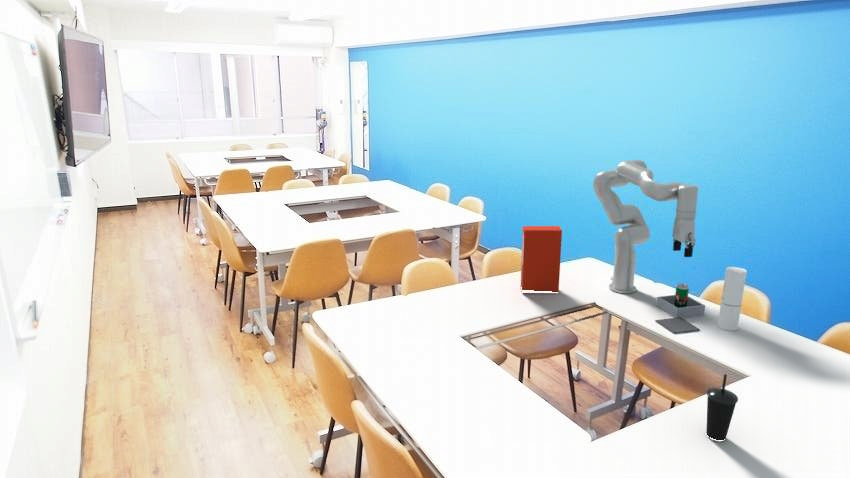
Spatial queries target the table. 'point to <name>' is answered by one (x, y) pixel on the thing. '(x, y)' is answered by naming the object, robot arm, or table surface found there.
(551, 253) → the file binder
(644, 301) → the table surface
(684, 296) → the soda can
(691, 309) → the grey bin
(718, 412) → the drinking cup
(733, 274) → the cylindrical container
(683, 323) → the mat
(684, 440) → the table surface
